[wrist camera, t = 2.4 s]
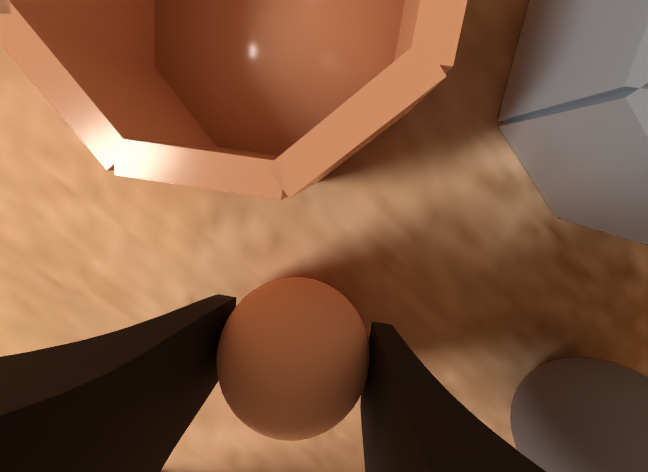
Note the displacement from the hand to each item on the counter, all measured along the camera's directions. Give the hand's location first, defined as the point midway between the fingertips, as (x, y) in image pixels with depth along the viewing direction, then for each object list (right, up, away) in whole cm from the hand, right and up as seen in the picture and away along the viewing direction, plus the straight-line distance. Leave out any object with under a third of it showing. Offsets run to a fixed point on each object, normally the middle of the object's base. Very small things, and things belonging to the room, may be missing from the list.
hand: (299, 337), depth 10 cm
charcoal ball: (+9, -3, -1) cm, 9 cm away
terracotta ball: (0, 0, -1) cm, 1 cm away
